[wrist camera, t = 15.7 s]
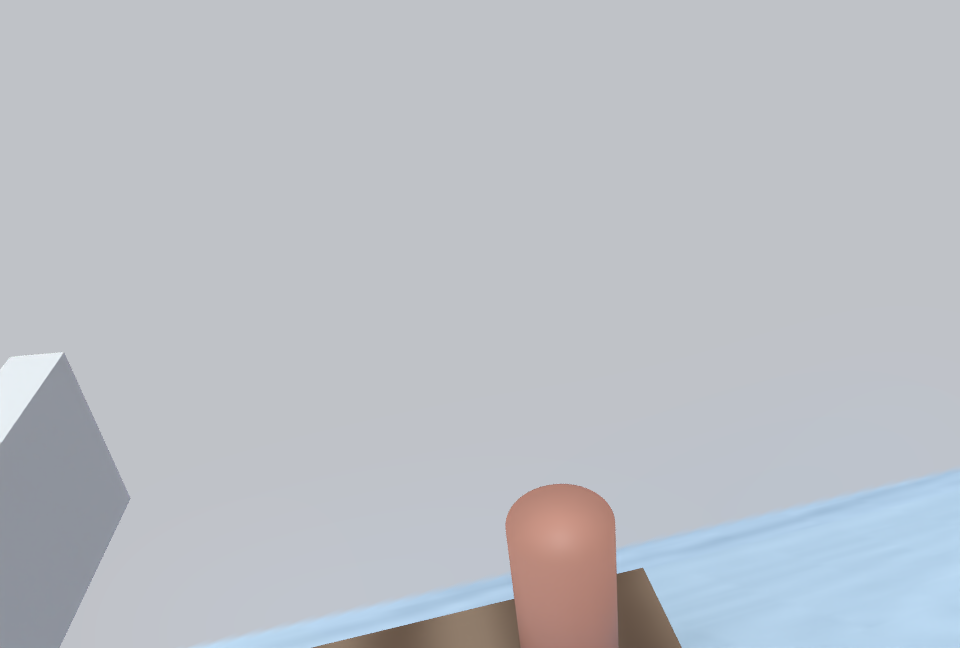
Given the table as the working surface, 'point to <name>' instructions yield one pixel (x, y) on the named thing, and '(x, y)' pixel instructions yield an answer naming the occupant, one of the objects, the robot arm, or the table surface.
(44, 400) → the robot arm
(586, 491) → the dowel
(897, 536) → the table surface
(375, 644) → the hole board
